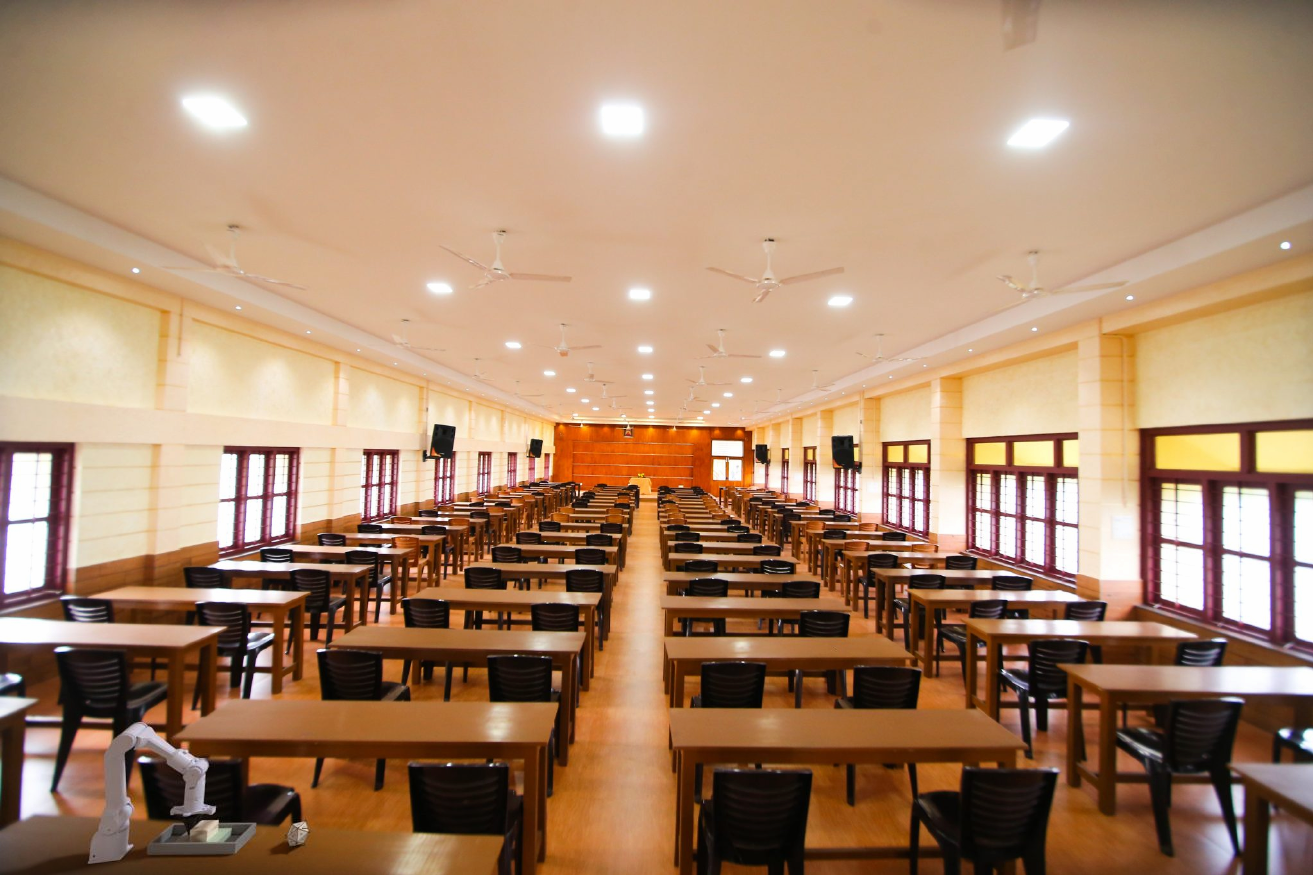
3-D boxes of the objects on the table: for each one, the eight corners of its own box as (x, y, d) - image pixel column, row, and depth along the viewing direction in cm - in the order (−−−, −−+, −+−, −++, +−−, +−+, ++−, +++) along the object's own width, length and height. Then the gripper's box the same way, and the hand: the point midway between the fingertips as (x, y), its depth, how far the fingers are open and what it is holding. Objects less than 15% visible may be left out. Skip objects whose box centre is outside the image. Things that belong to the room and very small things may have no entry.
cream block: (189, 841, 209) (190, 830, 209) (201, 831, 215) (201, 820, 215) (206, 841, 209) (207, 830, 210) (217, 831, 215) (218, 820, 216)
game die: (298, 857, 212) (299, 844, 207) (277, 847, 212) (278, 835, 207) (316, 832, 220) (317, 819, 215) (296, 822, 220) (297, 810, 215)
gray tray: (146, 854, 205) (147, 844, 205) (172, 833, 217) (173, 823, 217) (234, 854, 207) (235, 843, 207) (255, 832, 219) (256, 822, 219)
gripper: (165, 802, 208) (162, 840, 207) (207, 801, 209) (204, 840, 208) (179, 791, 215) (177, 828, 214) (220, 790, 216) (217, 828, 215)
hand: (191, 833), depth 212 cm, fingers closed
